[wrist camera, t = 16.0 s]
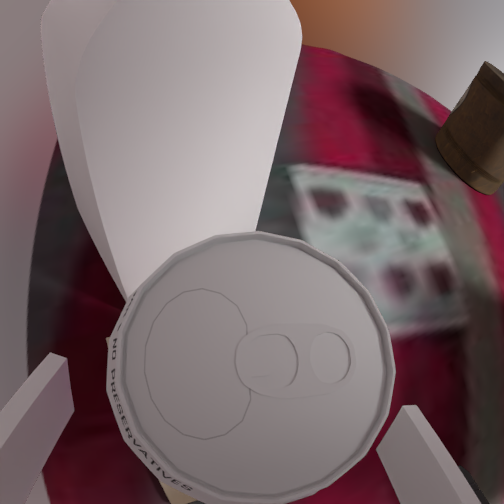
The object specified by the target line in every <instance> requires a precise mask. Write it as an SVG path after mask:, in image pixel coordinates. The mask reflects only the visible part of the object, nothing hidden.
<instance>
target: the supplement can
mask: <svg viewBox="0 0 504 504" xmlns="http://www.w3.org/2000/svg"><path fill="white" fill-rule="evenodd" d="M395 373H396V370H395V363H394V357H393V351H392V345H391V339H390V333H389V329H388V327H387V325H386V323H385V321H384V319H383V317H382V315H381V313H380V311H379V309H378V307H377V305H376V303H375V301H374V299H373V298H372V296H371V294H370V292H369V291H368V289H367V288H366V287H365V286H364V285H363V284H362V283H361V282H360V281H359V280H358V279H357V278H356V277H355V276H354V275H353V274H352V273H351V272H350V271H349V270H348V269H347V268H346V267H345V266H344V265H343V264H342V263H341V262H340V261H339V260H337V259H335V258H333V257H332V256H330V255H328V254H326V253H324V252H322V251H321V250H319V249H317V248H315V247H313V246H311V245H310V244H308V243H306V242H304V241H302V240H299V239H294V238H290V237H285V236H280V235H276V234H271V233H266V232H261V231H254V232H243V233H232V234H221V235H214V236H212V237H210V238H207V239H205V240H203V241H200V242H198V243H196V244H194V245H191V246H189V247H187V248H185V249H182V250H180V251H178V252H176V253H174V254H172V255H171V256H170V257H169V258H168V259H167V260H166V261H165V262H164V263H163V264H162V265H161V266H160V267H159V268H158V269H156V270H155V271H154V272H153V273H152V274H151V275H150V276H149V277H148V278H147V279H146V280H145V281H144V282H143V283H142V284H141V285H140V286H139V287H138V288H137V289H136V290H135V291H134V292H133V293H132V294H131V295H130V296H129V298H128V300H127V302H126V304H125V306H124V309H123V311H122V313H121V315H120V317H119V319H118V321H117V323H116V326H115V328H114V330H113V332H112V334H111V336H110V339H109V347H108V362H107V382H106V391H107V394H108V397H109V400H110V403H111V406H112V409H113V412H114V415H115V418H116V421H117V424H118V426H119V429H120V432H121V434H122V437H123V439H124V441H125V442H126V443H127V445H128V446H129V447H130V448H131V449H132V451H133V452H134V453H135V454H136V455H137V456H138V457H139V459H140V460H141V461H142V462H143V463H144V464H145V465H146V466H147V467H148V469H149V470H150V471H151V472H152V473H153V474H154V475H155V476H156V477H157V478H158V479H159V480H160V481H161V482H163V483H165V484H167V485H169V486H171V487H172V488H174V489H176V490H178V491H180V492H182V493H184V494H186V495H188V496H190V497H193V498H195V499H197V500H199V501H201V502H203V503H206V504H286V503H289V502H292V501H295V500H299V499H302V498H305V497H308V496H310V495H313V494H315V493H316V492H318V491H319V490H321V489H323V488H326V487H328V486H329V485H331V484H332V483H333V482H335V481H336V480H337V479H338V478H340V477H341V476H342V475H343V474H344V473H346V472H347V471H348V470H349V469H351V468H352V467H353V466H354V465H355V464H356V463H358V462H359V461H360V460H361V459H362V458H363V457H364V456H365V455H366V454H367V452H368V451H369V449H370V447H371V446H372V444H373V442H374V440H375V439H376V437H377V435H378V433H379V432H380V430H381V428H382V426H383V424H384V422H385V421H386V419H387V417H388V415H389V410H390V404H391V398H392V393H393V386H394V380H395Z"/></svg>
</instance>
